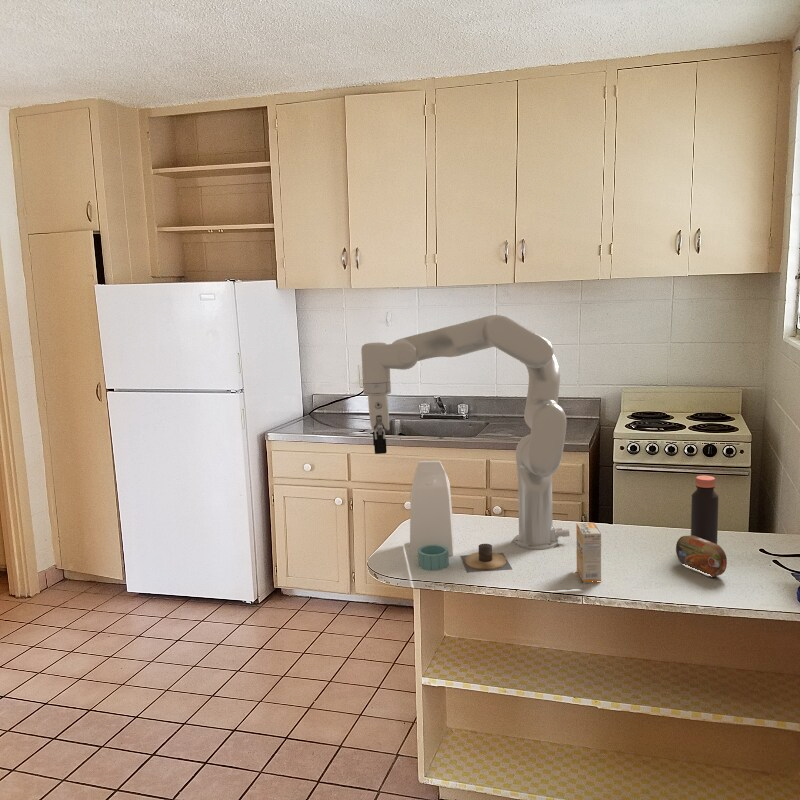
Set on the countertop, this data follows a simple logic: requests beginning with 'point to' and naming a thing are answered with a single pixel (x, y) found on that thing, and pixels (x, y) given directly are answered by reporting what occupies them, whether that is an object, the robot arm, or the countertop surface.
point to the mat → (468, 569)
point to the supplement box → (588, 552)
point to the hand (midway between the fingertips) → (379, 449)
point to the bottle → (705, 509)
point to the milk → (430, 508)
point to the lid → (485, 559)
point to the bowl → (433, 557)
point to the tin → (701, 555)
